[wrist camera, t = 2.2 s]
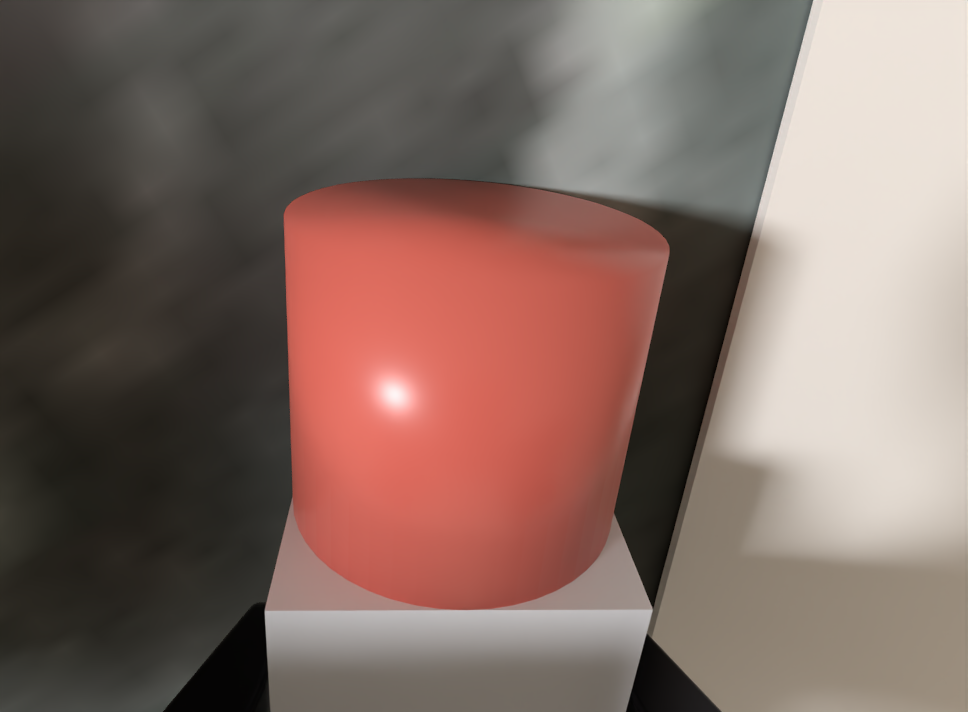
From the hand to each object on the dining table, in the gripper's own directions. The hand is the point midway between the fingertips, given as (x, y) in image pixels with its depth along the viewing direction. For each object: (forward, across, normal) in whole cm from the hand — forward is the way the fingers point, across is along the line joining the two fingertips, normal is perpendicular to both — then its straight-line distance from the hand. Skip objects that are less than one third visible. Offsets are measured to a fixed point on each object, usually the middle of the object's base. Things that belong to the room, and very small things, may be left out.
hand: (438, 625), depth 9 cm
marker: (+1, 0, 0) cm, 1 cm away
